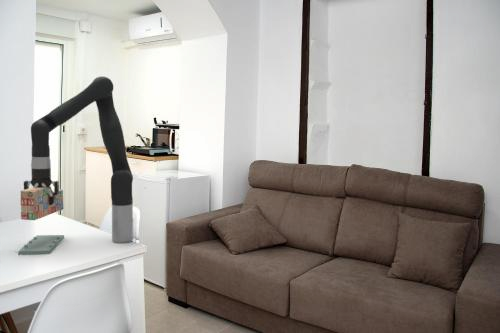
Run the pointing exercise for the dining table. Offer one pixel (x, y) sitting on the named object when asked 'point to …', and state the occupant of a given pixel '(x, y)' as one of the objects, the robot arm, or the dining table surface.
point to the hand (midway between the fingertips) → (41, 204)
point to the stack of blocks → (39, 203)
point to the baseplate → (41, 245)
